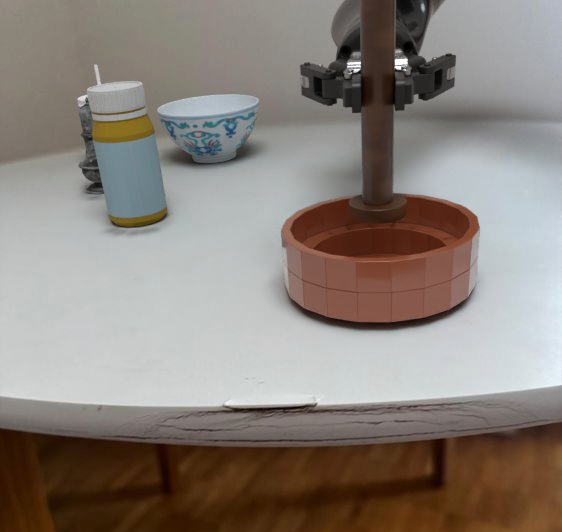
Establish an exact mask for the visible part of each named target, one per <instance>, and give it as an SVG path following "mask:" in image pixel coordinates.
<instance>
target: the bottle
mask: <svg viewBox="0 0 562 532" xmlns="http://www.w3.org/2000/svg"><path fill="white" fill-rule="evenodd" d="M86 95H87V96H88V100H89V105H90V109H91V111H92V118H93V120H94V121H93V129H92V137H93V143H94V148H95V153H96V157H97V162H98V167H99V172H100V176H101V181H102V186H103V190H104V194H103V196H104V201H105V205H106V209H107V213H108V217H109V219H110V220H111V221H112V222H113V223H115V224H116V225H117V226H120V227H127V228H131V227H133V228H135V227H144V226H148V225H152V224H155V223H158V222H159V221H161V220H162V219H163V218H164V217H165V216H166V214H167V212H168V204H167V197H166V192H165V185H164V184H165V183H164V180H163V173H162V167H161V160H160V155H159V149H158V144H157V136H156V131H155V126H154V124H153V122H152V120H151V118H150V116H149V114H148V106H147V99H146V93H145V88H144V85H143V82H141V81H137V80H135V81H134V80H128V81H125V80H123V81H113V82H107V83H101V84H100V85H98V84H96V85H93V86H89V87H88V88H87V89H86Z"/></svg>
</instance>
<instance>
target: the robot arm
mask: <svg viewBox="0 0 562 532" xmlns="http://www.w3.org/2000/svg"><path fill="white" fill-rule="evenodd" d="M445 2H446V0H396V33H395V90H394V106H395V108H394V112H400V111H403V112H404V111H405V110H406V109H405V108H406V105H412V104H414V99H415V95H417V98H418V100H422V101H423V102H424V101H425V102H426V101H430V100H432V99H435V98H437V97H438V96H440V95H442V94H444V93H445V92H447V91H450V89H453V88H454V87H455V84H456V83H455V82H456V64H457V54H453V53H449V52H447V53H445V54H443V55H440V56H438V57H437V56H433V57H432V58H431V60H428V61H427V60H426V58H425V57H424V56H421V55H420V53H421V50H422V47H423V45H424V41H425V39H426V34H427V31H428V27H429V25H430V22H431V19H432V18H433V17H434V16H435V14H436V13H437V11H439V9H440V8H441V7H442V6H443V4H444V3H445ZM330 36H331V39H332V41H333V43H334V45H335V46H336V49H337V50H336V54H335V60H334V61H331V63H329V65H328V66H327V67H325V66H324V65H323V64H316V63H311V62H310V61H307V62H306V61H305V62H304V63H302V64H299V69H300V86H301V87H300V89H301V90H300V91H301V96H303V97H305V98H307V99H309V100H312V101H314V102H316V103H319V104H321V105H323V106H326V107H333V106H334V105H336V104H338V100H339V99H340V100H342V107H343V108H346V109H347V108H351V113H352V114H361V107H362V103H361V53H360V0H343V1H342V2H341V3H340V5H339V6H338V7H337V9H336V11H335V13H334V15H333V17H332V21H331V25H330Z"/></svg>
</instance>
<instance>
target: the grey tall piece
mask: <svg viewBox="0 0 562 532" xmlns="http://www.w3.org/2000/svg"><path fill="white" fill-rule="evenodd" d="M85 101H86V104H84V105H83V106H82V107H79V109H78V116H79V120H80V125H81V130H82V132H81V133H80V137H81V138H82V139H83V142H84V146H85V159H84V160H83V161H80V162H79V163H78V168H79V169H81V172H82V174H83V176H84V177H85V179H86V180H88V181H89V182H92V183H90V184H89V185H88V187H86V189H85V191H86V193H88V194H90V195H91V194H92V195H104V190H103V186H102V181H101V176H100V172H99V167H98V162H97V157H96V153H95V148H94V143H93V137H92V129H93V121H94V120H93V118H92V111H91V109H90V105H89V100H88V98H87V97H86V98H85Z"/></svg>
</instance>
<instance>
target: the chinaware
mask: <svg viewBox="0 0 562 532" xmlns="http://www.w3.org/2000/svg"><path fill="white" fill-rule="evenodd" d="M259 108H260V100H259V98H258V97H256V96H253V95H248V94H238V93H237V94H235V93H234V94H233V93H229V94H228V93H227V94H223V93H222V94H211V95H209V94H207V95H200V96H192V97H187V98H182V99H177V100H174V101H170V102H167V103H165V104H162V105H160V106H159V107H158V108H157V109H156V111H157V114H158V118H159V120H160V122H161V126H162V127H163V129H164V131H165V133H166V134H167V136H168V137H169V138H170V139H171V141H172V142H173V143H174V144H175V145H176V146H177V147H179V148H180V149H181V150H183V151H184V152H186V153H188V154H190V155H191V158H192V160H193V162H195V163H200V164H216V163H222V162H223V163H224V162H227V161H230V160H233V159H234V158H236V156H237V150H238V149H239V148H240V147H241V146H243V145H244V143H246V142H247V140H248V139H249V137H250V136H251V134H252V132H253V130H254V128H255V125H256V122H257V118H258V115H259V114H258V113H259Z"/></svg>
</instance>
